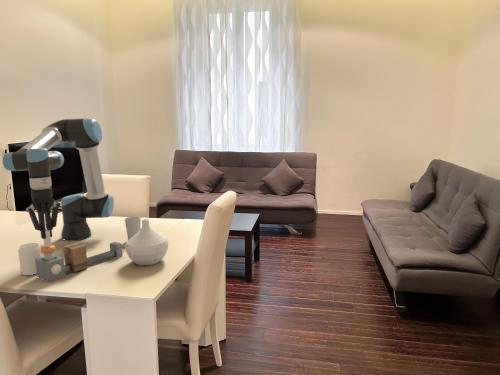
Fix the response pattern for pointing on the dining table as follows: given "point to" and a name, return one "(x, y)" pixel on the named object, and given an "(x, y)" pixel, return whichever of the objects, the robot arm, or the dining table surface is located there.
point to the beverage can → (29, 258)
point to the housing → (50, 268)
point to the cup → (132, 226)
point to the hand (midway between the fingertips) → (47, 245)
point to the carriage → (76, 256)
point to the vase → (146, 246)
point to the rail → (101, 256)
